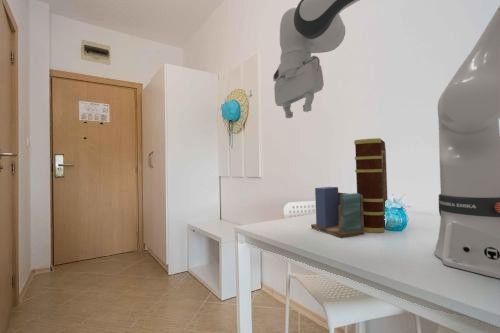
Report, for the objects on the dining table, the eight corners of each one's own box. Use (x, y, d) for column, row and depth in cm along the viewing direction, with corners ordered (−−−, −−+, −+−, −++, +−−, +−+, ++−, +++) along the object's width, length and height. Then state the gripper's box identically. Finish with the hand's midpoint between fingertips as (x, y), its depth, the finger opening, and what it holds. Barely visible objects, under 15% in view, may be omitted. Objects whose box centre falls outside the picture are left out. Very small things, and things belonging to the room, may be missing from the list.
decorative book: (383, 234, 81) (380, 137, 81) (356, 231, 85) (353, 139, 85) (388, 220, 100) (385, 142, 100) (366, 218, 104) (363, 143, 104)
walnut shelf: (364, 234, 81) (362, 193, 81) (341, 238, 78) (340, 195, 78) (331, 224, 95) (330, 190, 95) (311, 227, 92) (310, 191, 92)
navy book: (339, 224, 90) (338, 187, 90) (325, 228, 86) (324, 188, 86) (330, 222, 93) (328, 186, 93) (316, 225, 89) (315, 188, 89)
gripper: (328, 54, 68) (330, 107, 68) (287, 79, 87) (288, 121, 86) (308, 50, 65) (310, 105, 65) (270, 77, 84) (272, 120, 84)
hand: (297, 114), depth 76 cm, fingers open, 8 cm apart
